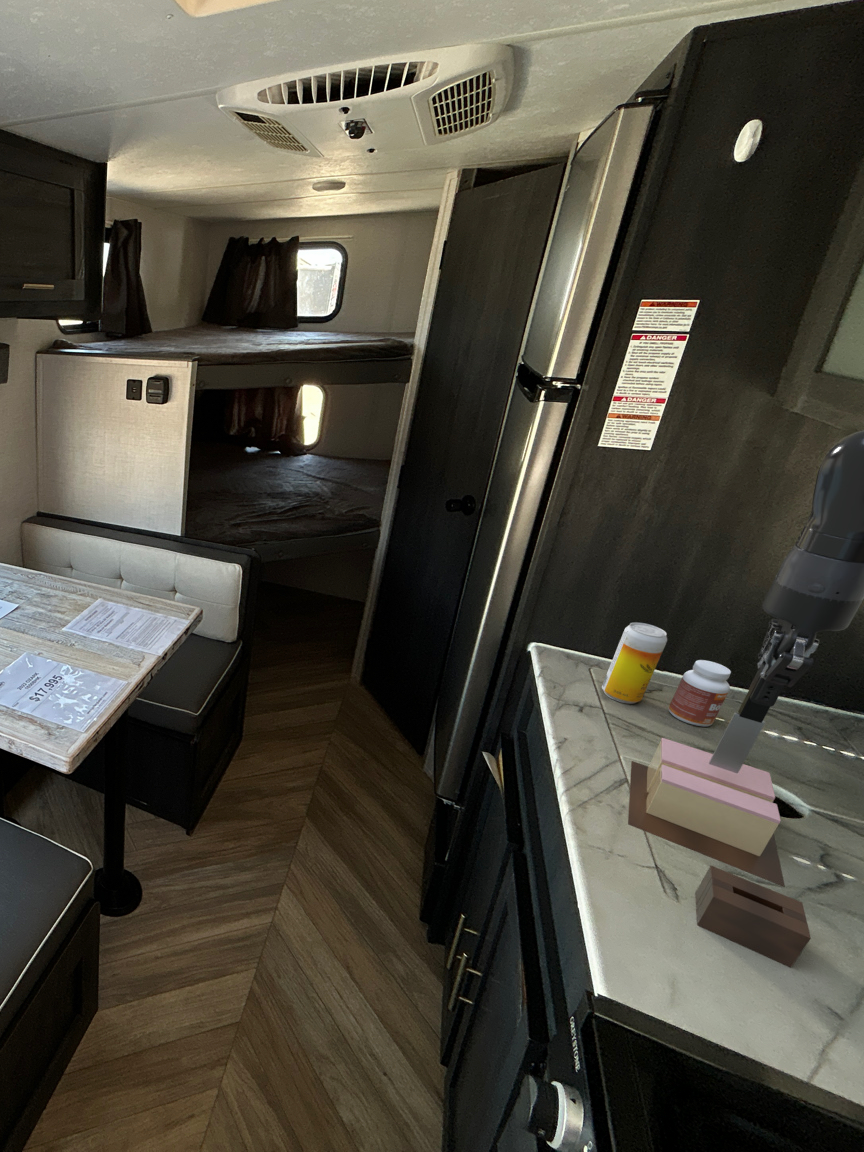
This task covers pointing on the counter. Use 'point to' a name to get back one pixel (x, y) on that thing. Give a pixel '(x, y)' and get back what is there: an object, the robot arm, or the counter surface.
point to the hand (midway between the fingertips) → (759, 699)
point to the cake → (709, 770)
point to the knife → (740, 733)
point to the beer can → (634, 662)
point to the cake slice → (713, 810)
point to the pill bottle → (701, 693)
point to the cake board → (698, 835)
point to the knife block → (752, 916)
